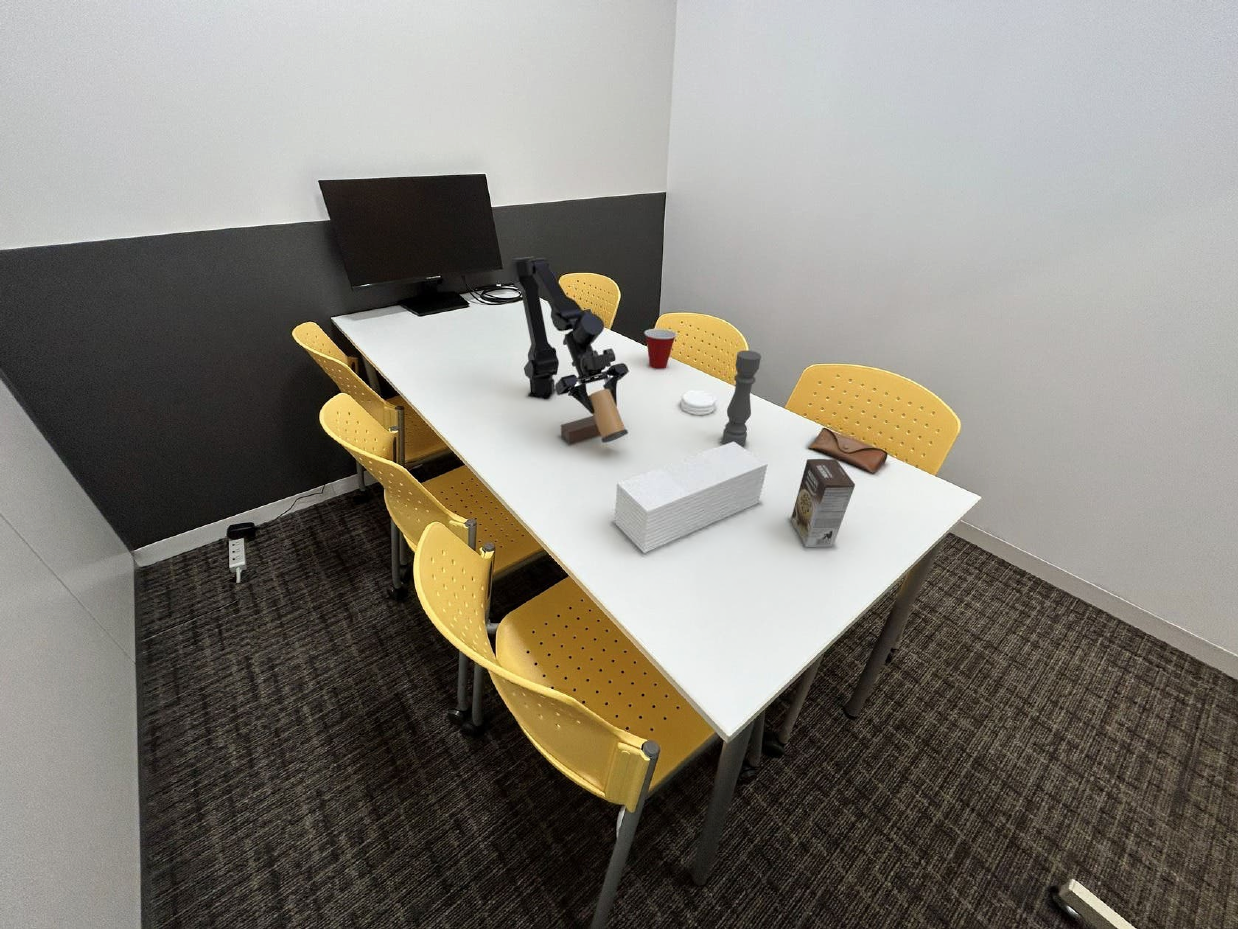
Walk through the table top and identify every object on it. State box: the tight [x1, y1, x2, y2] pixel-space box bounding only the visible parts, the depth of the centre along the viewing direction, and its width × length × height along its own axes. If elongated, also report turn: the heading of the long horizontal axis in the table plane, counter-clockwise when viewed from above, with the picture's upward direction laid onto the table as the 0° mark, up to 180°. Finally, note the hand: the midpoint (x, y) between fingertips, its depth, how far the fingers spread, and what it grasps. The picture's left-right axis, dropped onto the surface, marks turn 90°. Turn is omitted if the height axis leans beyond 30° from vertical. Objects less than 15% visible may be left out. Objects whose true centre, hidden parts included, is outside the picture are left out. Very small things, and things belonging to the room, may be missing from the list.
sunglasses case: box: [808, 427, 888, 474], centre depth 139 cm, size 18×7×7 cm
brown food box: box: [790, 458, 856, 548], centre depth 109 cm, size 9×6×16 cm
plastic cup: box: [643, 328, 678, 370], centre depth 180 cm, size 11×11×12 cm
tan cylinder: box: [588, 388, 629, 444], centre depth 132 cm, size 13×7×13 cm, turn 33°
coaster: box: [680, 389, 717, 416], centre depth 158 cm, size 10×10×4 cm
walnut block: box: [560, 415, 601, 445], centre depth 143 cm, size 4×14×4 cm, turn 123°
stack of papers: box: [614, 442, 768, 554], centre depth 114 cm, size 32×11×11 cm, turn 123°
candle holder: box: [721, 349, 762, 448], centre depth 136 cm, size 6×6×25 cm
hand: (604, 410), depth 132 cm, fingers closed on tan cylinder, 6 cm apart
